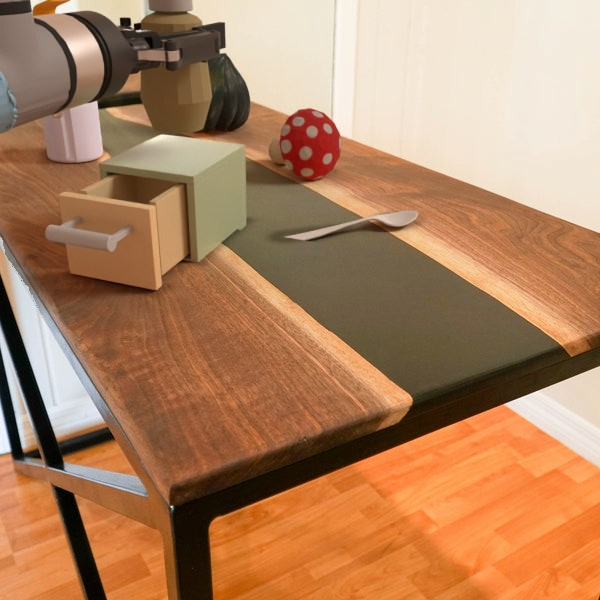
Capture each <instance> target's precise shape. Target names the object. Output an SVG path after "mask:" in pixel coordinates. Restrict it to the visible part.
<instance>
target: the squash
mask: <svg viewBox="0 0 600 600" xmlns="http://www.w3.org/2000/svg"><path fill="white" fill-rule="evenodd" d="M208 69H209V76H210V84H211V91H212V99H211V103H210V106H209V110H208V114H207V117H206V121H205V125H204V128H203V129H202V130H199V131H196V132H192V133H193V134H198V133H203V134H210V133H213V132H214V131H215V130H216V131H219V132H220V131H226V130H227V131H233V130H237V129H239V128H241V127H242V126H244V125H245V124H246V122H247V121H248V119H249V116H250V112H251V96H250V91H249V87H248V85H247V83H246V81H245V78H244V77H243V75H242V74H241V73H240V71H239V70H238V69H237V67H236V66H235V64H234V62H233V61H232V59H231V58H230V57H229V55H228V53H227V52H223V53H221V52H220V57H218V58H216V59H210V60H208Z"/></svg>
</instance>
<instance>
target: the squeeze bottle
mask: <svg viewBox="0 0 600 600" xmlns="http://www.w3.org/2000/svg"><path fill="white" fill-rule="evenodd" d="M147 3H148V10H149V11H152V12H151V13H149V14H147V15H145V16H144V17H143V18H142V19H141V20H140V22H141V30H153V31H156V32H157V33H158V34H162V33H171V32H181V31H191V30H192V28H193V27H198V26H202V25H203V20H202V19H200V17H199V16H197V15H195V14H193V13H190V12H192V11H193V10H194V5H193V4H194V3H193V0H147ZM142 38H143V39H144V37H142ZM139 90H140V94H139V95H140V97H139V98H140V100H141V103H142V106H143V107H144V110H145V112H146V115H147V118H148V121H149V122H150V125H151V127H152V129H153V130H154V131H156V132H159V133H162V134H169V135H185V134H191V133H193V132H196V131H199V130H202V129H203V128H204V125H205V121H206V117H207V114H208V110H209V106H210V103H211V99H212V91H211V84H210V76H209V69H208V62H207V63H205V62H204V63H203V62H198V63H194V64H190V65H186V66H182V67H181V68H179V69H178V70H175V71H170V70H166V68H165V67H163V62H161V63H160V66H159V67H157V68H152V69H145V70H140V89H139Z"/></svg>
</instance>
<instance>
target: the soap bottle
mask: <svg viewBox="0 0 600 600" xmlns="http://www.w3.org/2000/svg"><path fill="white" fill-rule="evenodd" d="M70 1H71V0H44V1H41V2H40V3H37V4H35V5H34V6H33V7H32V11H33V16H39V15H47V14H56V9H57V8H58V7H59V6H62V5H63V4H64V5H65V4H67V3H69V2H70ZM62 112H63V116H62V117H61V118H59V119H58V118H53V117H52V116H51V115H49V116H46V117H43V118H41V123H42V131H43V136H44V137H43V138H44V143H45V149H46V156H47V158H48V159H49V160H51V161H52V162H57V163H60V164H81V163H89V162H92V161H95V160H97V159H99V158H101V157H102V156H103V155H104V147H103V139H102V129H101V122H100V114H99V106H98V101H95V102H91V103H86V104H83V105H80V106H77V107H74V108H70V109H67V110H64V111H62Z"/></svg>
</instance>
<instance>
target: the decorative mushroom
mask: <svg viewBox="0 0 600 600" xmlns="http://www.w3.org/2000/svg"><path fill="white" fill-rule="evenodd" d="M341 151H342V138H341V133H340V131H339V129H338V127H337V125H336V123H335V122H334V121H333V120H332V118H331V117H329V116H328V115H327V114H326V113H325V112H323V111H320V110H317V109H314V108H311V107H309V108H300V109H297V110H296V111H295V112H293V113H292V114H290V115H289V116H288V117H287V118H286V120H285V122H284V124H283V126H282V127H281V129H280V135H279V137H277V138H274V139H273V140H271V142H270V144H269V146H268V156H269V158H270V159H271V161H272V162H274V163H275V164H277V165H284V164H285V165H286V167H287V169H288V170H289V171H291V172H292V173H293V174H295V176H297V177H299V178H301V179H305V180H308V181H315V180H320V179H323V178H325V177H326V176H327V175H328V174H330V173H331V172H332V171H334V169H335V167H336V166H337V163H338V161H339V160H340V156H341Z"/></svg>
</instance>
